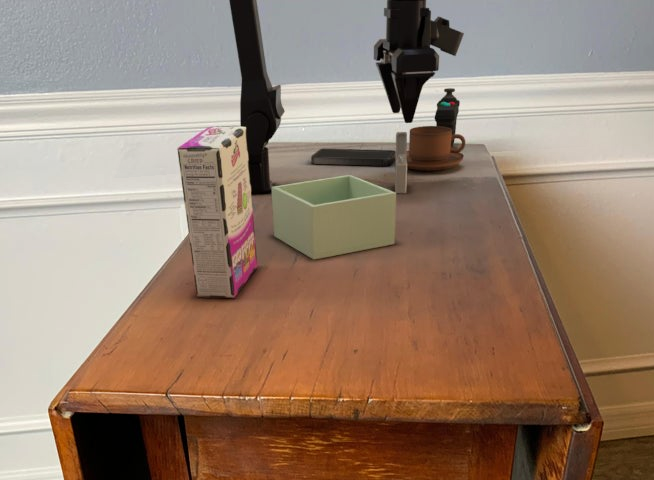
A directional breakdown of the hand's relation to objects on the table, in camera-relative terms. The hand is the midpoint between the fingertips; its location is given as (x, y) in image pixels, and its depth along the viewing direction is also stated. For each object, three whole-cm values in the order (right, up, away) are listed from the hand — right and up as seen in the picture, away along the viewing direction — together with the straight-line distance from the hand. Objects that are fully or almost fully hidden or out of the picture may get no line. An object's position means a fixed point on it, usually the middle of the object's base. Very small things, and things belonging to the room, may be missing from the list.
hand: (402, 117), depth 125 cm
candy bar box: (-25, -34, -28) cm, 51 cm away
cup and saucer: (+7, 0, +17) cm, 19 cm away
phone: (-6, +4, +24) cm, 25 cm away
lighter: (0, -9, +6) cm, 11 cm away
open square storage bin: (-11, -25, -16) cm, 32 cm away
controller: (+12, +8, +29) cm, 33 cm away
